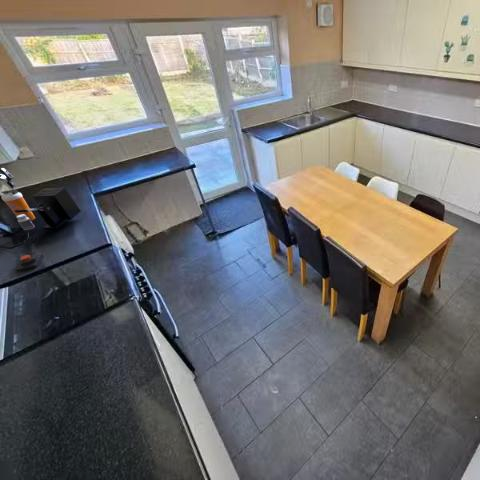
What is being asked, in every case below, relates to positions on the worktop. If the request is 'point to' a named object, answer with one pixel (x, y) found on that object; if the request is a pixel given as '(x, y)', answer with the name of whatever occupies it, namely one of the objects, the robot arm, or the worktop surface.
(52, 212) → the lever bracket
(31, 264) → the timer block
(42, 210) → the toaster lever
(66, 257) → the worktop surface
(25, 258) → the timer button
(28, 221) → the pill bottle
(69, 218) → the toaster
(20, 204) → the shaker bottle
